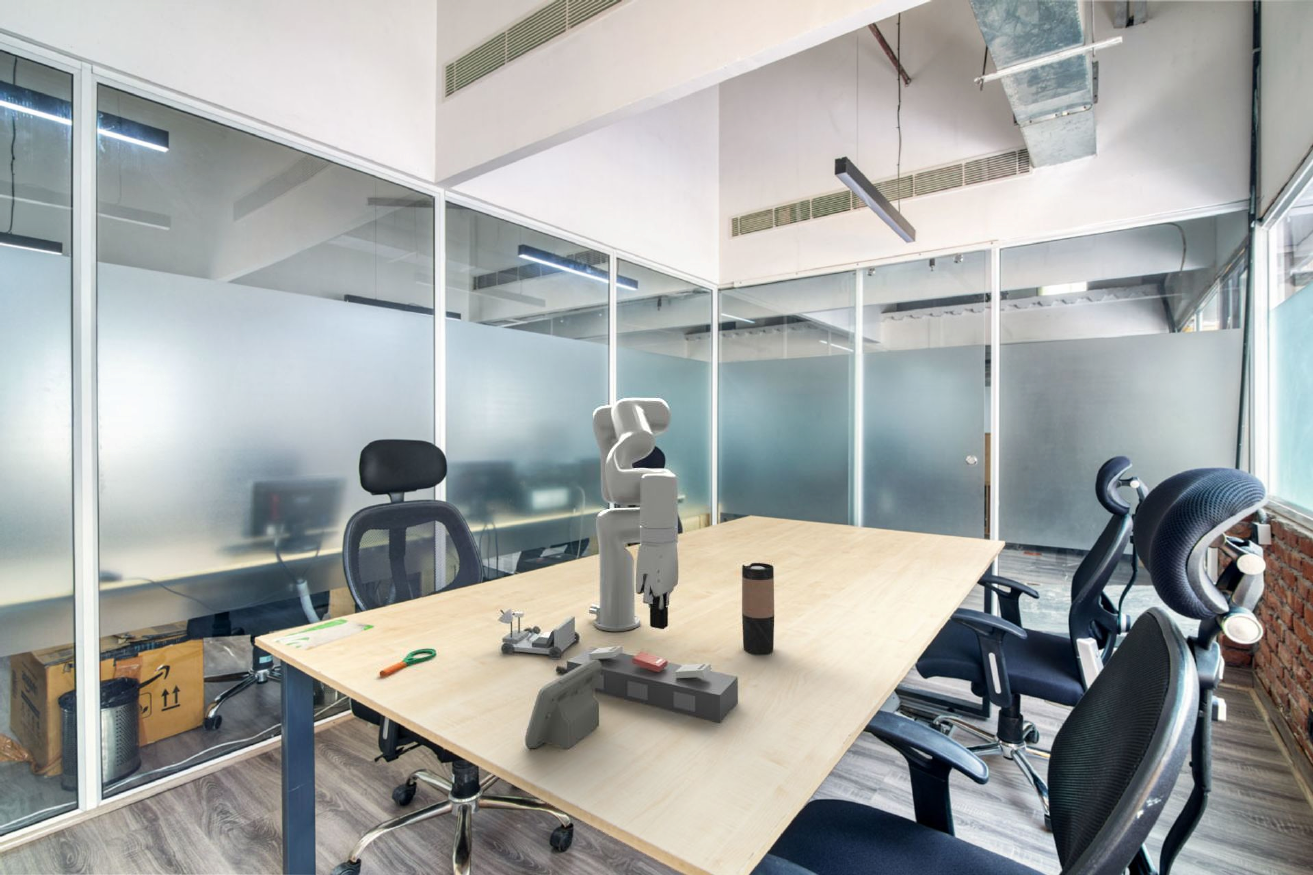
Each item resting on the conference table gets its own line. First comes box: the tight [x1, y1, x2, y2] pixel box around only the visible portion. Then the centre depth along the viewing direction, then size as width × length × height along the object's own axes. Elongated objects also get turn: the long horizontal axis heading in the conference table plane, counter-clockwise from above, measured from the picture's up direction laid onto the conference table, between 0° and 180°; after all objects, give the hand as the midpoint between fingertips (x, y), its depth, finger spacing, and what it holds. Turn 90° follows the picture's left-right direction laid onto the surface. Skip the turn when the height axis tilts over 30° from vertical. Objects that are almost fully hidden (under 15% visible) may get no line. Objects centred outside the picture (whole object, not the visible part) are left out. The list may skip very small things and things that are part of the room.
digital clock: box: [524, 659, 601, 750], centre depth 101 cm, size 16×9×11 cm, turn 139°
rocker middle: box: [632, 651, 668, 672], centre depth 116 cm, size 6×4×1 cm, turn 61°
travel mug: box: [741, 562, 775, 656], centre depth 139 cm, size 8×8×20 cm
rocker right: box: [675, 663, 712, 678], centre depth 111 cm, size 6×4×1 cm, turn 61°
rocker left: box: [589, 645, 624, 660], centre depth 121 cm, size 6×4×1 cm, turn 61°
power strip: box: [555, 646, 739, 724], centre depth 117 cm, size 40×9×5 cm, turn 61°
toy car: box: [497, 608, 581, 660], centre depth 142 cm, size 18×10×12 cm
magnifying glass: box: [379, 648, 437, 678], centre depth 132 cm, size 15×6×2 cm, turn 161°
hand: (658, 626), depth 115 cm, fingers closed
